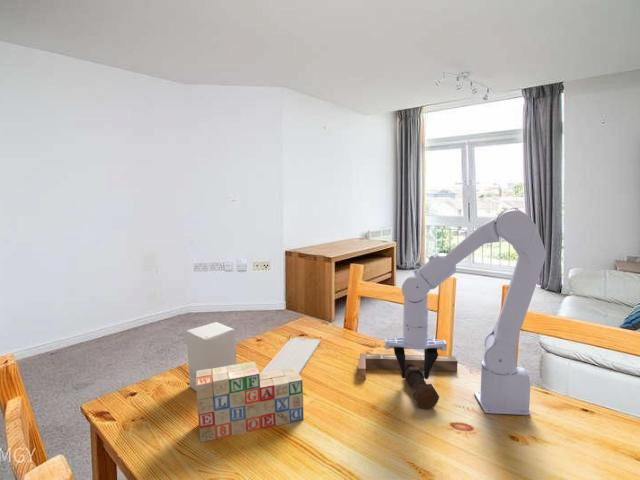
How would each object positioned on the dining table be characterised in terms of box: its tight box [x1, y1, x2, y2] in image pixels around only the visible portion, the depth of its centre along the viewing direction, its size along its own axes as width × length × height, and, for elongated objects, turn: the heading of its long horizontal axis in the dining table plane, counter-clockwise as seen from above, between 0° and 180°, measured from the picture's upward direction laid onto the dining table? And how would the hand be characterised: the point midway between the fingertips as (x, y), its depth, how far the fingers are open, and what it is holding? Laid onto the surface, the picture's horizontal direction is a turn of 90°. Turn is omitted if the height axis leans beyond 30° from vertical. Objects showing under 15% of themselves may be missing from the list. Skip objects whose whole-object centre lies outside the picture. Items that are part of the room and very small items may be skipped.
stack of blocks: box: [196, 360, 304, 443], centre depth 77 cm, size 21×6×12 cm, turn 108°
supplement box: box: [185, 321, 238, 392], centre depth 92 cm, size 9×9×15 cm
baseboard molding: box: [260, 333, 322, 376], centre depth 106 cm, size 31×3×12 cm
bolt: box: [404, 364, 440, 410], centre depth 89 cm, size 6×5×15 cm
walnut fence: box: [357, 353, 458, 380], centre depth 98 cm, size 26×9×3 cm, turn 84°
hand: (414, 376), depth 90 cm, fingers open, 5 cm apart
